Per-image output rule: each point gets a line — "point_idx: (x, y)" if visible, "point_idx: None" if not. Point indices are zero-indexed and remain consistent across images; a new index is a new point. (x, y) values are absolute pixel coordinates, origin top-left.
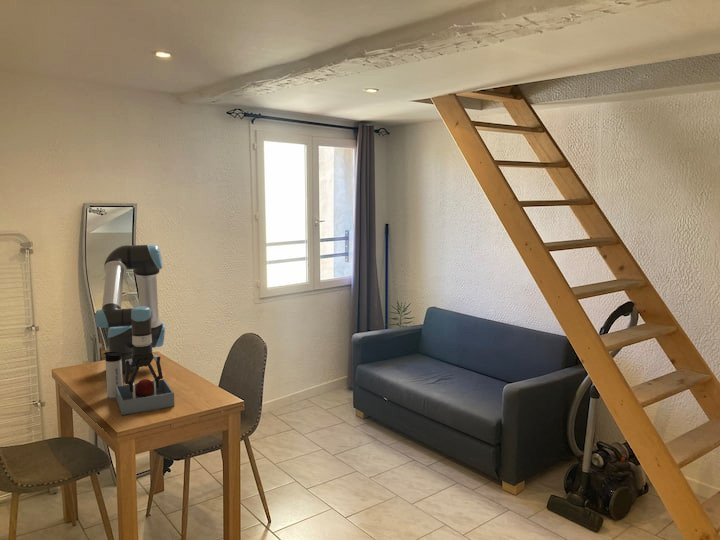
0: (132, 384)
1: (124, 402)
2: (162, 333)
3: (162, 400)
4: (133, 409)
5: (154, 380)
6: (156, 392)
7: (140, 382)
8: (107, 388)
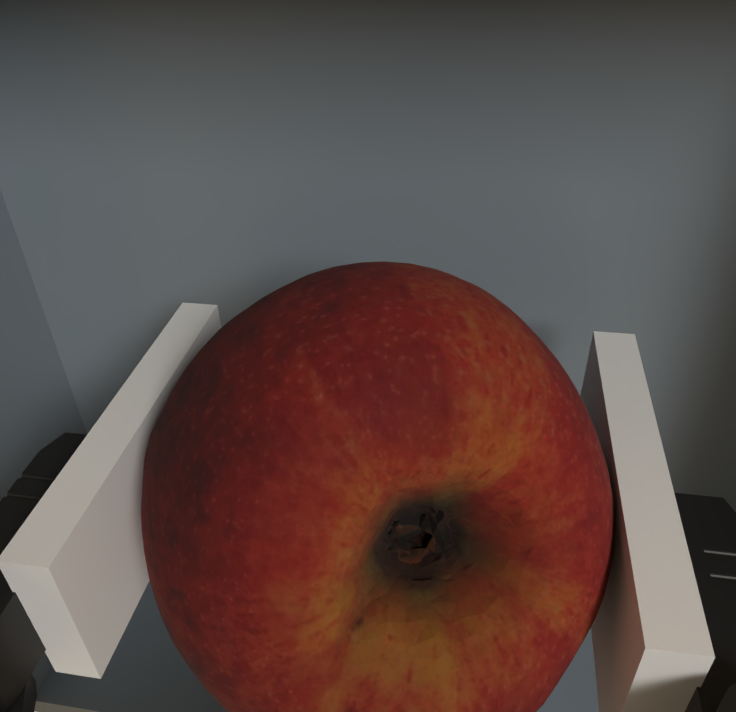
0: (32, 681)
1: (66, 688)
2: None
3: (587, 705)
4: None
5: (680, 692)
6: None
7: (225, 709)
8: None
